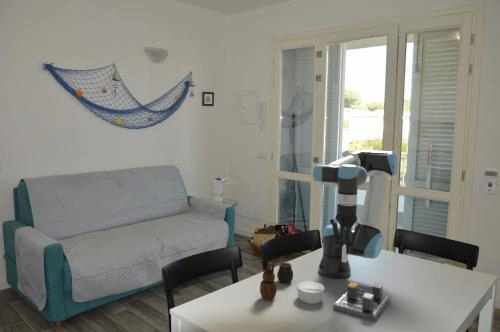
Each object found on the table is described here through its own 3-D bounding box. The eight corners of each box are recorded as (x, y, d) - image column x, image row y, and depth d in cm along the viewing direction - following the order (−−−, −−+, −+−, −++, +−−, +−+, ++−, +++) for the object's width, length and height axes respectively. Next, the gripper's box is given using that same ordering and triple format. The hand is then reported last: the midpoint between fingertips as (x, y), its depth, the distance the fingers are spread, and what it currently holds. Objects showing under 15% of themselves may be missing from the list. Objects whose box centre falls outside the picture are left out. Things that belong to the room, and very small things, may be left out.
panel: (333, 309, 151) (333, 303, 151) (351, 291, 167) (351, 286, 167) (374, 321, 142) (375, 315, 142) (389, 301, 159) (389, 296, 158)
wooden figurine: (278, 296, 161) (279, 261, 159) (274, 302, 155) (275, 266, 154) (262, 294, 163) (263, 259, 161) (258, 300, 158) (258, 264, 156)
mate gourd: (285, 286, 171) (285, 264, 170) (273, 281, 177) (273, 259, 176) (296, 282, 176) (296, 260, 175) (284, 277, 182) (284, 256, 181)
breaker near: (362, 308, 147) (362, 295, 146) (365, 305, 150) (365, 292, 149) (370, 310, 145) (370, 298, 144) (373, 307, 148) (373, 294, 147)
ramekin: (307, 307, 152) (307, 294, 152) (291, 296, 162) (291, 283, 161) (330, 302, 157) (330, 289, 157) (313, 291, 167) (313, 279, 167)
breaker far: (371, 297, 157) (372, 285, 156) (374, 294, 160) (375, 282, 159) (379, 299, 155) (380, 287, 154) (382, 295, 158) (382, 284, 157)
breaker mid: (347, 297, 156) (347, 285, 156) (350, 294, 159) (350, 282, 159) (354, 299, 154) (355, 287, 154) (357, 296, 157) (358, 284, 157)
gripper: (327, 203, 155) (325, 260, 158) (360, 207, 148) (357, 267, 151) (334, 200, 161) (332, 255, 164) (366, 204, 155) (363, 261, 158)
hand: (344, 261), depth 158 cm, fingers closed
